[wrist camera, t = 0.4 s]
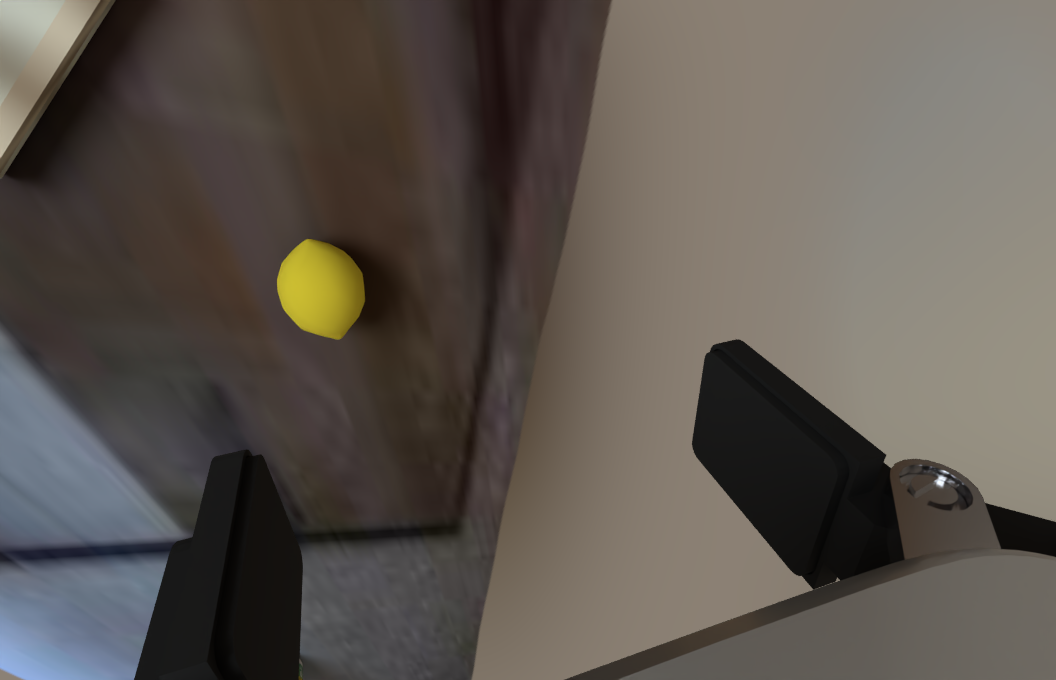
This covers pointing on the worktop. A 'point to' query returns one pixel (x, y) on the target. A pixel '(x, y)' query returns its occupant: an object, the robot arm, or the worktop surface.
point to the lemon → (321, 288)
